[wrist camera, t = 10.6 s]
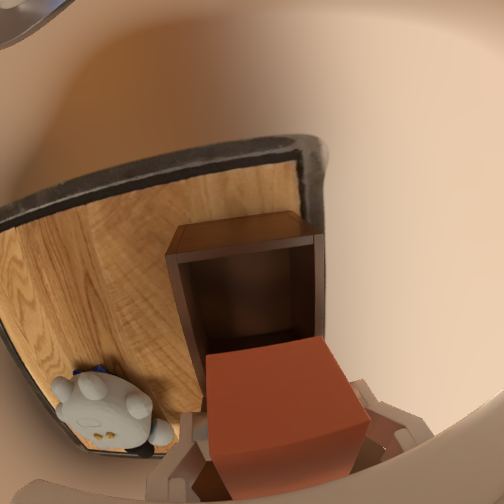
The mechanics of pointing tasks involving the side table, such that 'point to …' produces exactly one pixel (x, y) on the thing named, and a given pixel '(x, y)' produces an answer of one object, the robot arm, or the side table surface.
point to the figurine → (110, 412)
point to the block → (281, 418)
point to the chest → (246, 283)
